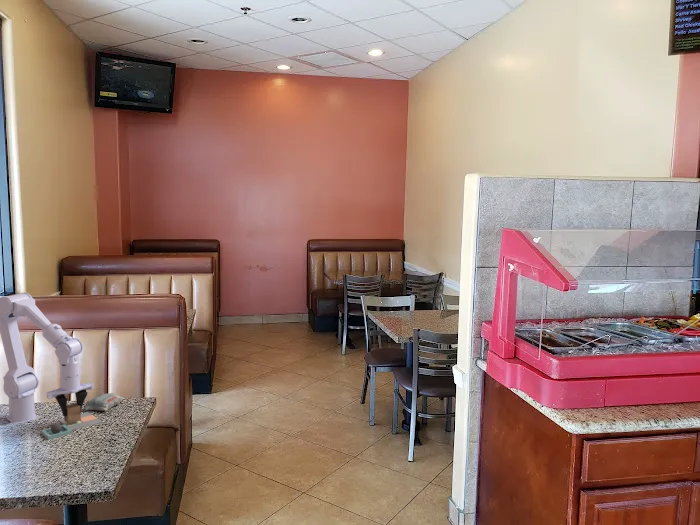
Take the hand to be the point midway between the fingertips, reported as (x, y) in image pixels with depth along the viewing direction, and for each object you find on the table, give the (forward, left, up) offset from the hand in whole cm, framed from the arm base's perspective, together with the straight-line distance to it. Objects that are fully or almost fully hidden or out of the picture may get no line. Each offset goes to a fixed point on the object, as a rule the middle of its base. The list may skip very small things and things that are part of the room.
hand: (71, 414), depth 188 cm
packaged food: (-8, +14, -4) cm, 17 cm away
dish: (+5, -6, -4) cm, 9 cm away
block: (0, 0, -2) cm, 2 cm away
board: (0, +3, -4) cm, 5 cm away
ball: (+5, -6, -3) cm, 9 cm away
